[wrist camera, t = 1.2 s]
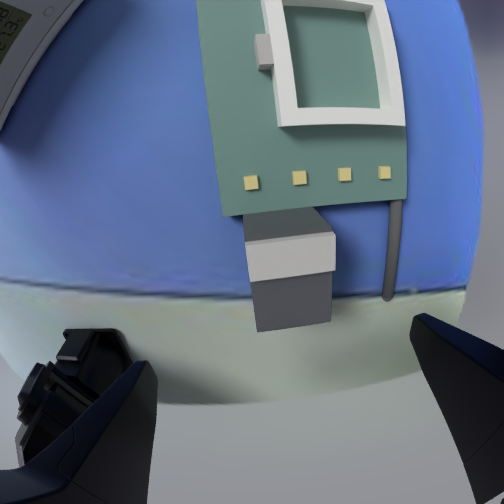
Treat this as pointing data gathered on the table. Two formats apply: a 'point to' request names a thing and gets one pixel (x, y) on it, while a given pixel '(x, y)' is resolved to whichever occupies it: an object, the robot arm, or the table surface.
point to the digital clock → (26, 41)
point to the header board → (303, 103)
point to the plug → (290, 267)
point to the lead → (392, 248)
